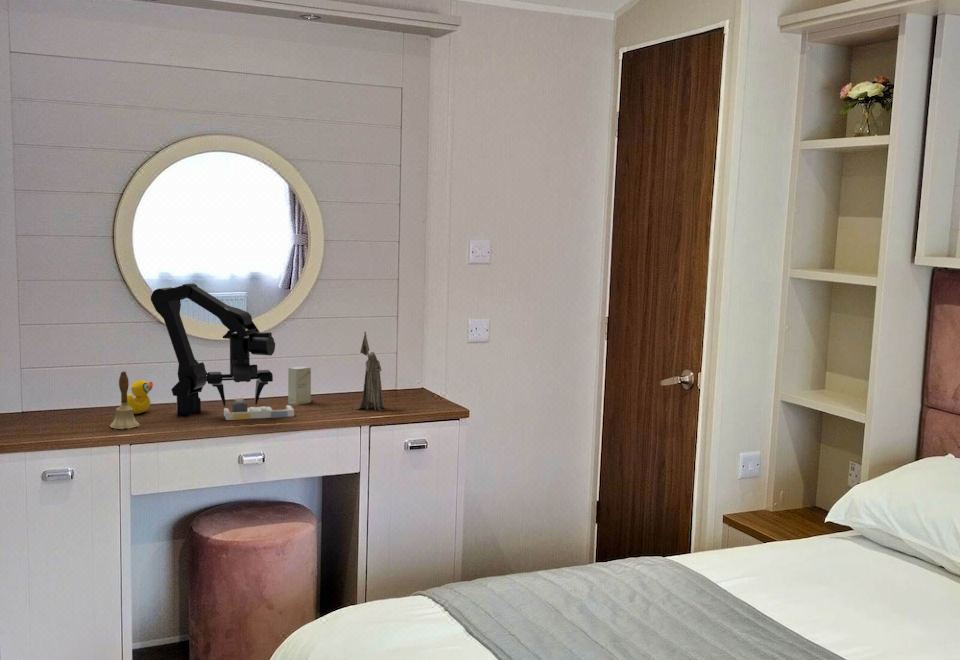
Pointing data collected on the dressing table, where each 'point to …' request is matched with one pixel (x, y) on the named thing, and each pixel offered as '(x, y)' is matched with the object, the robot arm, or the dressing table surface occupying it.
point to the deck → (259, 408)
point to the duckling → (139, 396)
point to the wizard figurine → (371, 380)
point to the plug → (239, 405)
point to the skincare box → (299, 385)
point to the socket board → (259, 413)
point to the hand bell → (124, 407)
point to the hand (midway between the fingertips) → (240, 405)
